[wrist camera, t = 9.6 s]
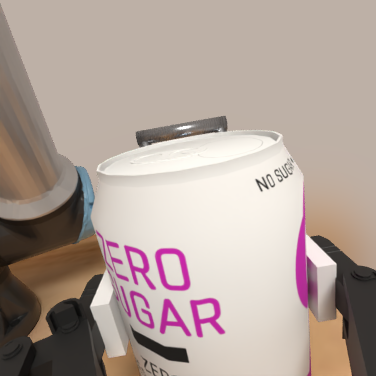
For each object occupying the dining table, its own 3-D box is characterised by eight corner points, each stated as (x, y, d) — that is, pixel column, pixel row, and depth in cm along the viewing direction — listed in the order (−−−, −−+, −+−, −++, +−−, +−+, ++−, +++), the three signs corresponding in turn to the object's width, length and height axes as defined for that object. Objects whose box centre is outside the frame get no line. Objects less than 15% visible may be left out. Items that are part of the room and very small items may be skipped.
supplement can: (286, 340, 18) (270, 121, 13) (345, 522, 10) (353, 151, 6) (173, 346, 19) (122, 146, 15) (147, 516, 11) (21, 200, 7)
